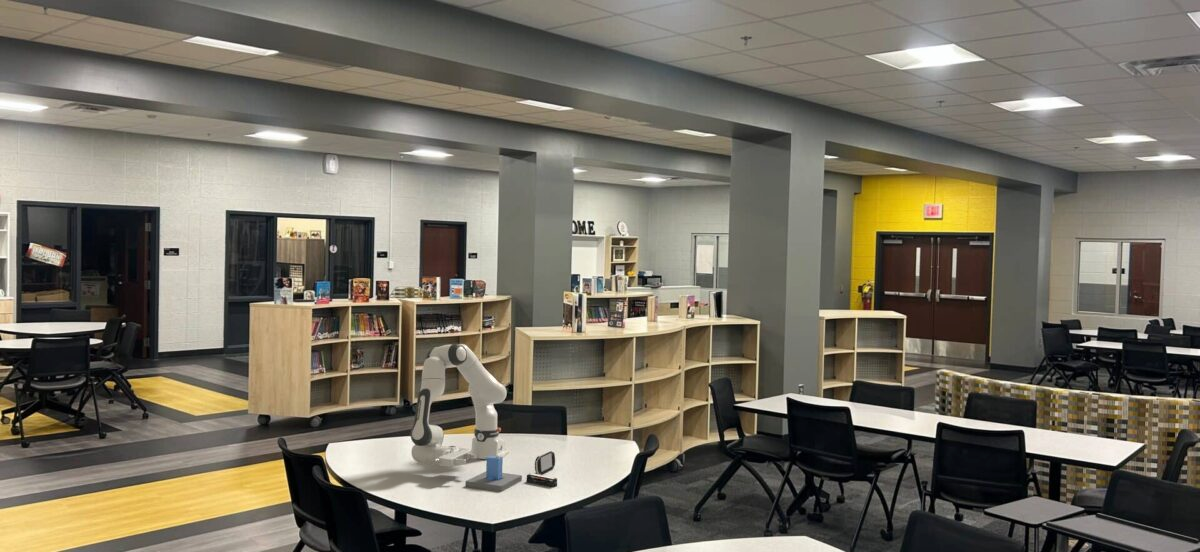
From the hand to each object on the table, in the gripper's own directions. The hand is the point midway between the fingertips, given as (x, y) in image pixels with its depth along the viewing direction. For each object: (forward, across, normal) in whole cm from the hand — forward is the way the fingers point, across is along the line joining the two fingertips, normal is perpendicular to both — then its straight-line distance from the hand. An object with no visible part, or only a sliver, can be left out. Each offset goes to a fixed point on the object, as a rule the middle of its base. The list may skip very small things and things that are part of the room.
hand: (470, 459), depth 379 cm
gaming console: (+25, +28, +10) cm, 39 cm away
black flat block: (+34, +7, +11) cm, 36 cm away
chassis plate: (+13, -1, +10) cm, 16 cm away
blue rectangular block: (+13, -1, +10) cm, 16 cm away
